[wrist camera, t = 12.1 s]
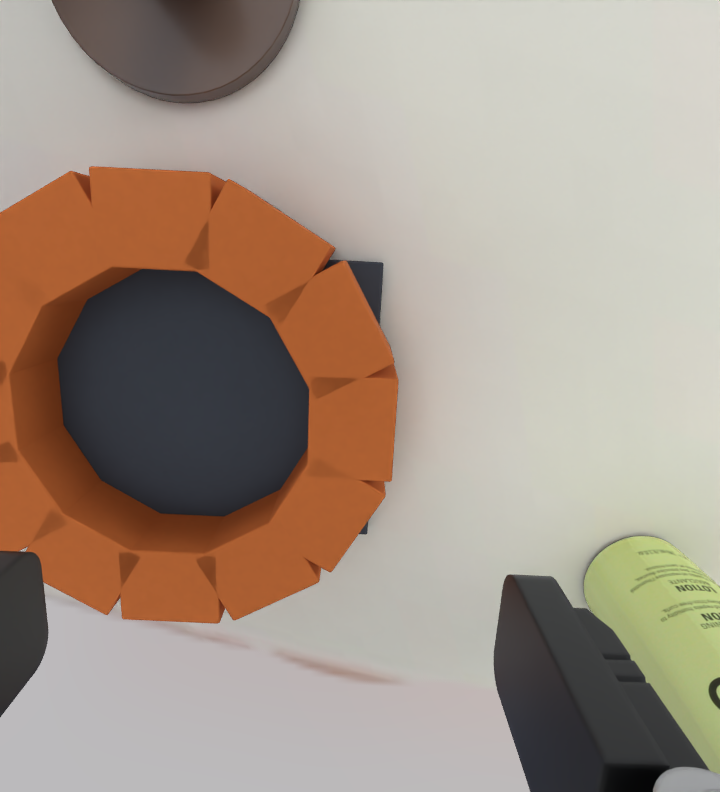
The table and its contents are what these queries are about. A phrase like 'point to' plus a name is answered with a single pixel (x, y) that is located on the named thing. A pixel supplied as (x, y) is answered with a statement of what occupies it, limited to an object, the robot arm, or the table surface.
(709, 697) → the tube
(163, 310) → the mat
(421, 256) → the table surface
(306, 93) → the table surface
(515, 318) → the table surface
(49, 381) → the ring
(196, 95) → the disc with centre peg
